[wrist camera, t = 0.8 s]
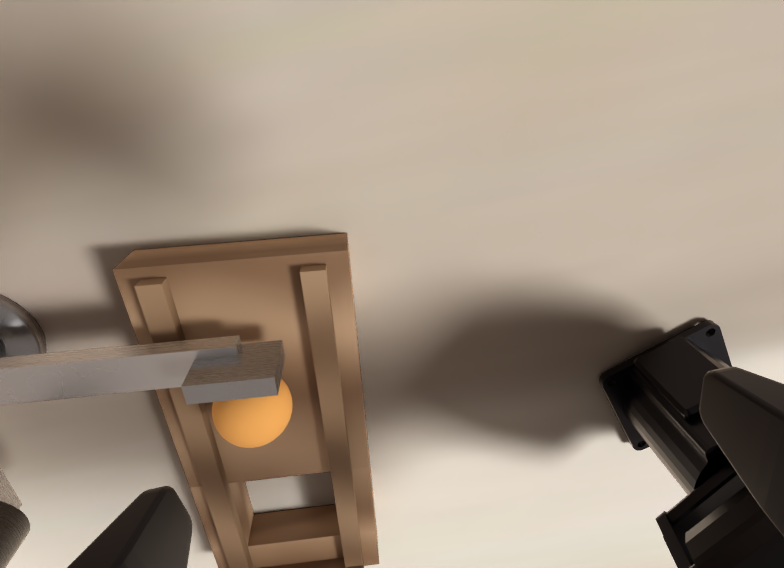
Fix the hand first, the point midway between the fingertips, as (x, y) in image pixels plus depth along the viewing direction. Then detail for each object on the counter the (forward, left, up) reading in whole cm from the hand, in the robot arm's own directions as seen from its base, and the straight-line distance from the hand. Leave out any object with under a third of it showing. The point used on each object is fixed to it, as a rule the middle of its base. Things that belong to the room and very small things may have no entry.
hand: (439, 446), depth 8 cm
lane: (-7, +11, -13) cm, 18 cm away
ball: (-3, +9, -11) cm, 15 cm away
